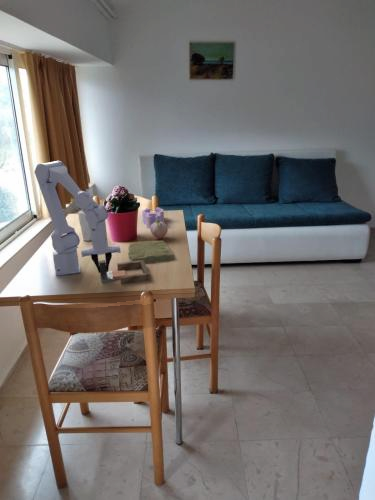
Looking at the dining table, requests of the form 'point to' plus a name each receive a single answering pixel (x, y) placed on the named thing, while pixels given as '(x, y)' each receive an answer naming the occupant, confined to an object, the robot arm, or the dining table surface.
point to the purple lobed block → (152, 216)
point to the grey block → (105, 272)
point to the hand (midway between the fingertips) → (103, 271)
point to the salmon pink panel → (118, 274)
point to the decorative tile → (149, 251)
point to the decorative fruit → (159, 229)
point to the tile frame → (136, 277)
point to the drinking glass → (84, 226)
